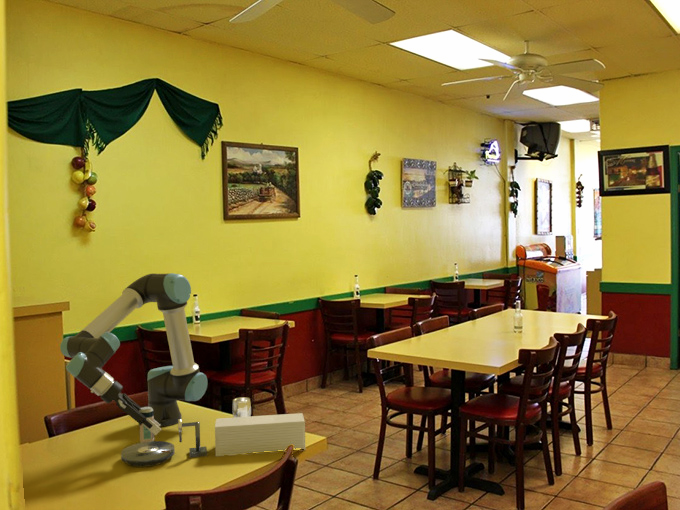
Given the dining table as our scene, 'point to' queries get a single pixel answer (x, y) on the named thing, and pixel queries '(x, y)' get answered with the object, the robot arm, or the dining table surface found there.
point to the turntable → (147, 452)
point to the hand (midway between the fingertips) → (158, 429)
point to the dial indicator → (198, 450)
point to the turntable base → (148, 464)
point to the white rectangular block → (259, 433)
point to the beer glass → (241, 407)
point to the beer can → (145, 434)
